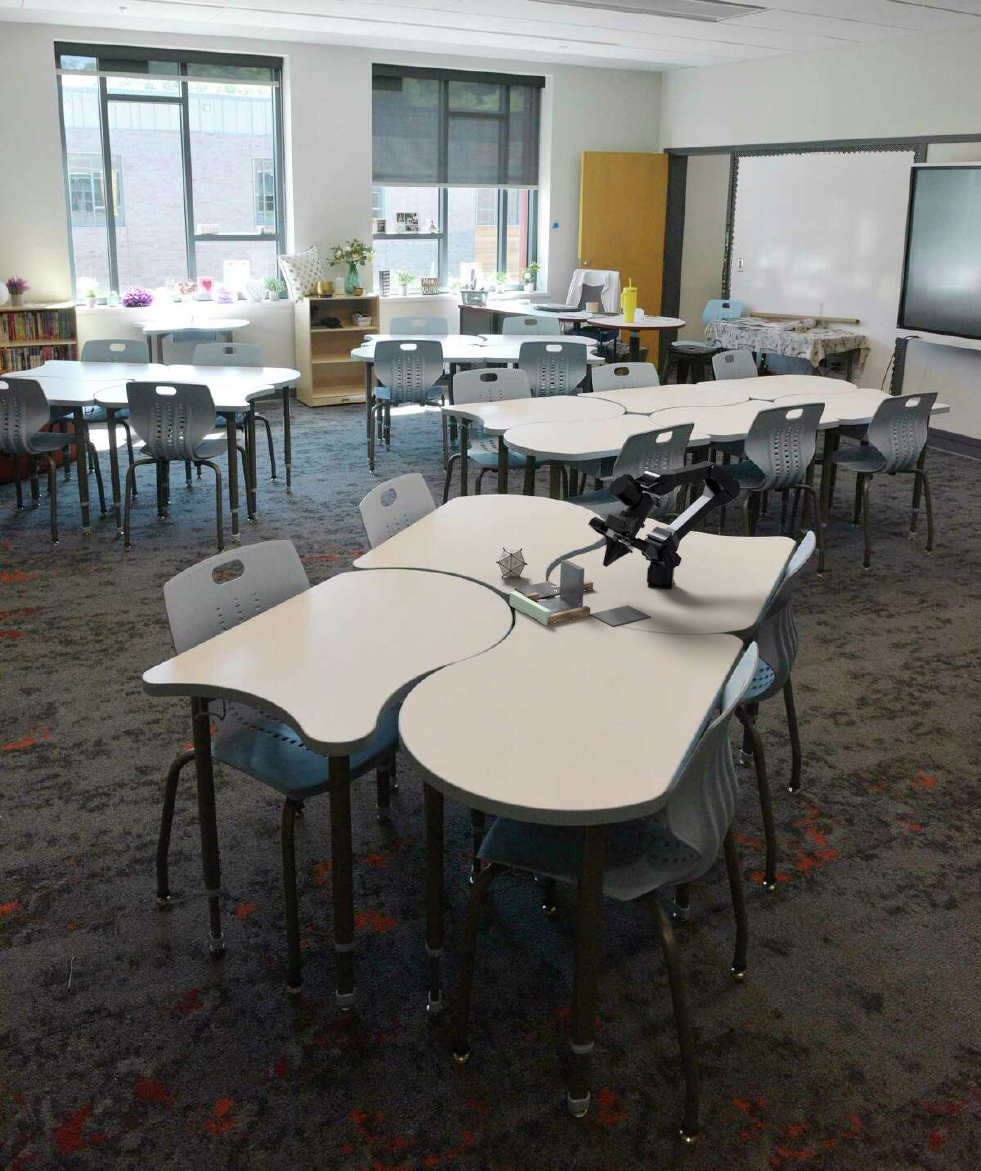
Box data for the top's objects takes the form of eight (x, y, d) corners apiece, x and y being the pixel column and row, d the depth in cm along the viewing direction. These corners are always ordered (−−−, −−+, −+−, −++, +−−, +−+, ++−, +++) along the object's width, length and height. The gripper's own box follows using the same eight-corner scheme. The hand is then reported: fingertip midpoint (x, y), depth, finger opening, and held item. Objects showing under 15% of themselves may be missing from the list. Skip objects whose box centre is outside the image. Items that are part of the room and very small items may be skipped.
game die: (516, 587, 298) (536, 557, 298) (514, 587, 289) (535, 556, 289) (489, 569, 299) (509, 539, 298) (486, 568, 290) (507, 537, 290)
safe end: (514, 604, 276) (514, 591, 275) (550, 624, 263) (551, 610, 262) (509, 605, 275) (509, 592, 274) (545, 625, 262) (546, 612, 261)
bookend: (564, 599, 279) (565, 559, 275) (582, 609, 273) (584, 568, 269) (525, 608, 273) (526, 567, 269) (543, 618, 267) (544, 576, 263)
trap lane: (569, 577, 295) (569, 570, 294) (650, 617, 268) (651, 609, 267) (492, 594, 282) (492, 586, 282) (569, 637, 255) (569, 629, 255)
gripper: (596, 488, 277) (564, 540, 276) (654, 516, 266) (621, 570, 266) (612, 505, 286) (581, 555, 285) (669, 532, 275) (637, 584, 275)
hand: (604, 565), depth 278 cm, fingers closed
